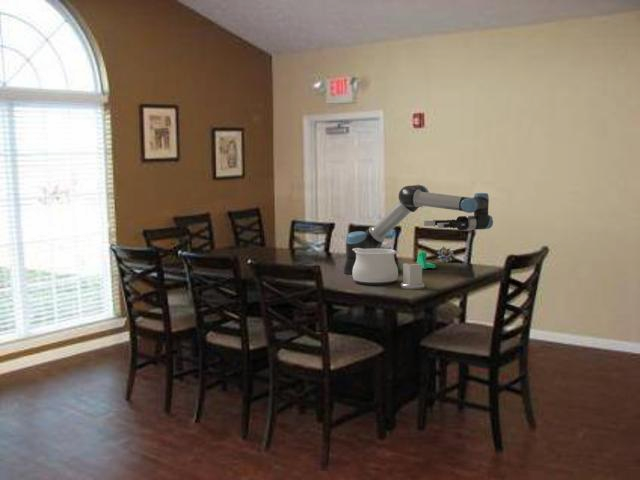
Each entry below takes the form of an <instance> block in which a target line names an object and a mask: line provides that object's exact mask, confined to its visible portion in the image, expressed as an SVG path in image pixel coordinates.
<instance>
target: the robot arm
mask: <svg viewBox="0 0 640 480" xmlns="http://www.w3.org/2000/svg"><path fill="white" fill-rule="evenodd" d="M398 200H399V201H398V202H397V203H396V205H395V206H394V207H392V209H390V211H388V213H387V214H385V215H384V217H382V218H381V220H380V221H378V222H377V224H375V225H374V226H370V227H369V228H367V230H366V231H362V230H361V231H360V230H359V231H352V232H348V233H347V234H346V236H345V238H346V239H345V244H346V245H345V246H346V247H345V249H346V250H345V254H346V255H345V257H346V260H345V263H344V266H343V273H344V274H347V275H353V274H352V271H353V266H354V264H355V261H356V253H355V251H353V250H352V249H354V248H361V249H376V248H377V249H381V247H382V246H383V242H385V237H386V236H387V235H388V234H390V232H391V231H393V230H394V229H395V228H396V226H398V224H400V222H401V221H403V220H405V218H406V217H407V216H409V214H410V213H415V212H416V211H417V210H418V209H419V208H420V207H428V208H437V209H444V210H450V211H451V210H453V211H459V212H465V213H467V214H472V213H473V215H462V216H457V218H456V219H447V220H445V219H438V220H437V219H433V220H423V227H436V228H437V229H449V228H450V229H457V230H459V231H469V232H471V231H472V230H473V231H476V230H477V231H478V230H489V229H491V228H492V227H493V225H494V220H493V217H492V216H491V215H489V203H490V202H489V201H490V199H489V193H486V192H475V193H474V197H469V196H468V197H467V196H459V195H451V194H443V193H435V192H429V189H428V188H427V187H426V186H424V185H421V184H416V185H415V184H414V185H405V186H403V187H402V188H401V189H400V190H399V193H398Z"/></svg>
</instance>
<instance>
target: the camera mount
mask: <svg viewBox="0 0 640 480" xmlns="http://www.w3.org/2000/svg"><path fill="white" fill-rule="evenodd" d="M427 257H428V256H427V252H426V251H419V252H418V255H417V258H416V259H417V260H416V262H418V264H422V270H427V268H432V269H435V268H436V264H433V263H430V262H426V259H427Z"/></svg>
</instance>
